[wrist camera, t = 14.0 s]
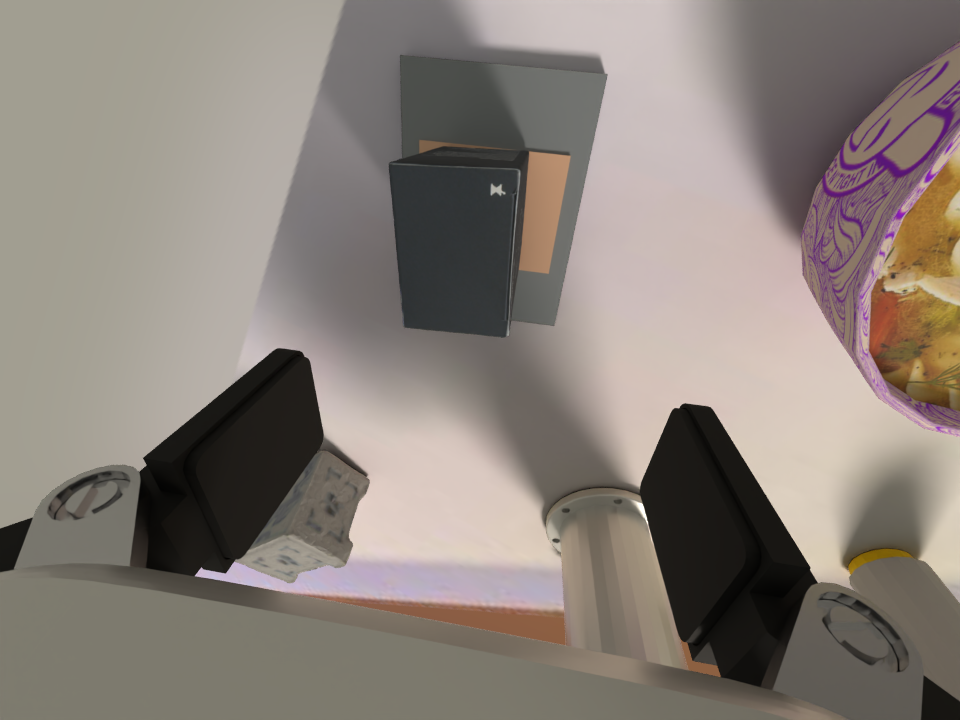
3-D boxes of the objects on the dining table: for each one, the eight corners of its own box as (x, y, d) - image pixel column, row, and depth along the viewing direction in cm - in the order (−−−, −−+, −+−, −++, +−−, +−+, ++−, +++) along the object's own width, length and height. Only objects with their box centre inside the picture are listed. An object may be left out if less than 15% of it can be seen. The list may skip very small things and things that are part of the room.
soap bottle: (928, 572, 40) (1161, 840, 25) (851, 587, 43) (1018, 836, 28) (912, 536, 38) (1158, 809, 23) (831, 555, 41) (1002, 808, 26)
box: (441, 145, 24) (385, 159, 15) (530, 149, 24) (525, 166, 15) (443, 265, 29) (400, 331, 20) (519, 271, 28) (510, 341, 19)
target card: (553, 321, 31) (554, 327, 30) (408, 301, 32) (404, 307, 31) (605, 75, 22) (608, 73, 21) (404, 57, 23) (399, 54, 22)
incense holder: (327, 509, 49) (281, 595, 40) (277, 469, 46) (215, 551, 37) (382, 486, 45) (344, 575, 36) (331, 440, 42) (275, 524, 33)
